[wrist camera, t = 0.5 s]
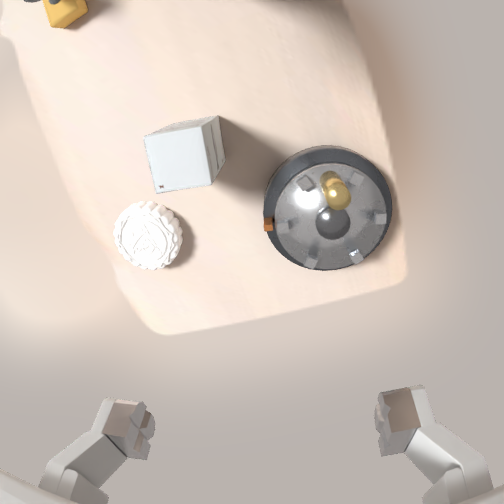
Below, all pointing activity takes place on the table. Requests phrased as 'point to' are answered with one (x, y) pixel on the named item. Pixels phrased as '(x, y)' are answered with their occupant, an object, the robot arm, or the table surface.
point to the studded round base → (329, 215)
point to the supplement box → (185, 154)
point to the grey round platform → (305, 160)
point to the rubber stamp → (63, 11)
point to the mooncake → (148, 235)
